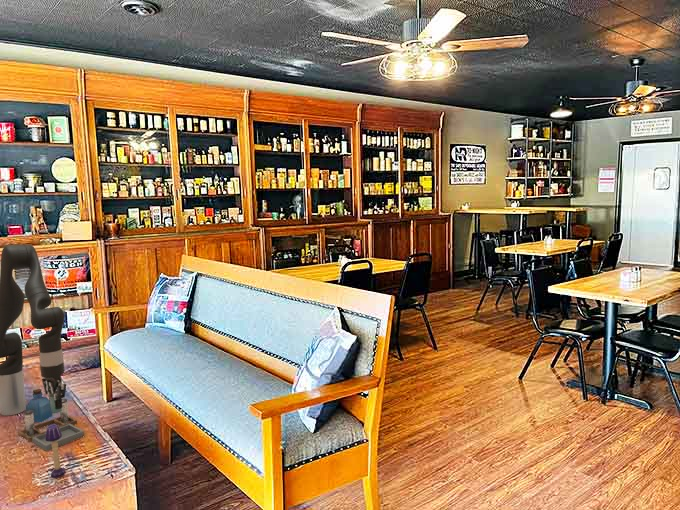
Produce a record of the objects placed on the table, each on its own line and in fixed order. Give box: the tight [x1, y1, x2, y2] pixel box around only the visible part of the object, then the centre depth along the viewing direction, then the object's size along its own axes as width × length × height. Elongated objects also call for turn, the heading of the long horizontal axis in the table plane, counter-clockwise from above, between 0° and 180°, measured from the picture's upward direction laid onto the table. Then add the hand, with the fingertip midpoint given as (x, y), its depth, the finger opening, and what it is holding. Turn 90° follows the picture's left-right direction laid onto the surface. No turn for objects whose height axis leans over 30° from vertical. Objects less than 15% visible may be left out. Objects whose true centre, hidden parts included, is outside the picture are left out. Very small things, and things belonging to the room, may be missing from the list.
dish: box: [32, 424, 85, 452], centre depth 189 cm, size 11×14×2 cm
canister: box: [59, 398, 70, 424], centre depth 202 cm, size 3×3×10 cm
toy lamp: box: [45, 424, 67, 479], centre depth 164 cm, size 5×5×17 cm
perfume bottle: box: [25, 388, 53, 423], centre depth 206 cm, size 6×6×12 cm
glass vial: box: [23, 410, 36, 437], centre depth 192 cm, size 3×3×10 cm
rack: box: [17, 416, 78, 443], centre depth 197 cm, size 9×18×2 cm, turn 144°
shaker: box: [48, 392, 62, 415], centre depth 187 cm, size 4×4×7 cm
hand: (56, 407), depth 187 cm, fingers closed on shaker, 3 cm apart
